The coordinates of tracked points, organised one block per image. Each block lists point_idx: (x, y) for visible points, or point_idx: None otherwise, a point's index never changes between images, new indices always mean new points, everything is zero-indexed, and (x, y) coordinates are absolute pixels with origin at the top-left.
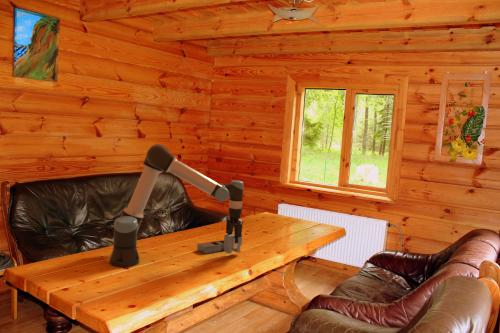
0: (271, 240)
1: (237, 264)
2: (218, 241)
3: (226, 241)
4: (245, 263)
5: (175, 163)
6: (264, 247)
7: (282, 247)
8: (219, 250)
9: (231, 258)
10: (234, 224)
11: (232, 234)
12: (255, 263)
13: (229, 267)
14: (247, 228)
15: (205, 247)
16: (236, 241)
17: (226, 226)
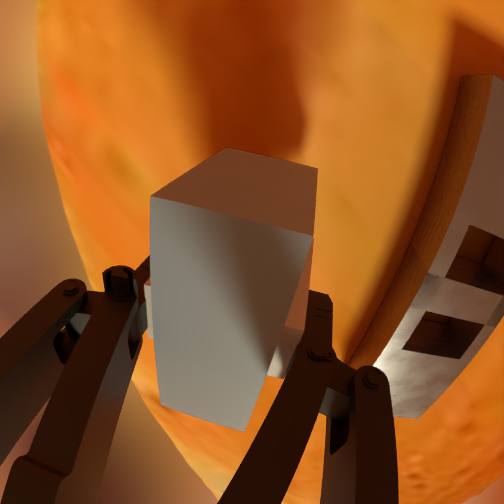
0: (296, 477)
1: (97, 86)
2: (483, 326)
3: (244, 174)
4: (86, 148)
5: None
6: (252, 430)
7: (207, 446)
8: (419, 230)
9: (218, 150)
10: (9, 479)
11: (239, 365)
12: (66, 199)
13: (92, 6)
14: (428, 491)
15: (490, 81)
16: (142, 264)
17: (391, 482)
